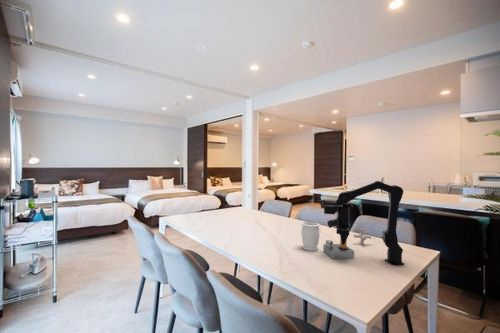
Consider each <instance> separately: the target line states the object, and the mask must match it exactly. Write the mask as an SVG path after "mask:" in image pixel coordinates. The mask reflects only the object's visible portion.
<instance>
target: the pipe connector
mask: <svg viewBox="0 0 500 333" xmlns="http://www.w3.org/2000/svg"><path fill="white" fill-rule="evenodd" d="M353 238H358V239H360V245H361V246H364V244H365V241H366V240H367V239H371V238H372V236H371V235H367V234H365V228H363V227H362V228H360V232H359V233H358V234H353Z"/></svg>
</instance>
